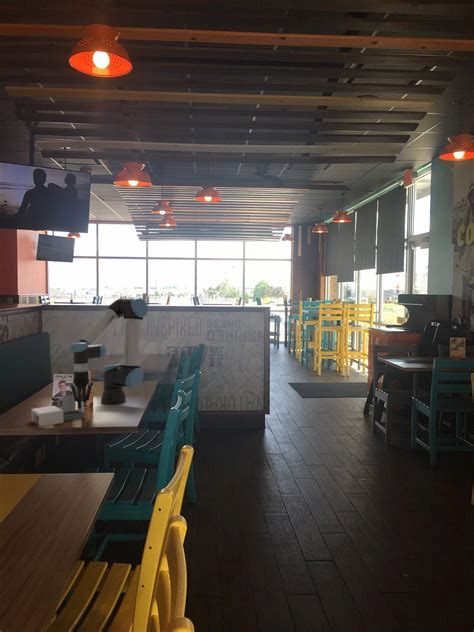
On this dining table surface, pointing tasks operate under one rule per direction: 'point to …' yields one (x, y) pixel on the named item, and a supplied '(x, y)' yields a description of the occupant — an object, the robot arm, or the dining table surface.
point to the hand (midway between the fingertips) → (82, 413)
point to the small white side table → (47, 415)
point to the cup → (67, 403)
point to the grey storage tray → (72, 415)
